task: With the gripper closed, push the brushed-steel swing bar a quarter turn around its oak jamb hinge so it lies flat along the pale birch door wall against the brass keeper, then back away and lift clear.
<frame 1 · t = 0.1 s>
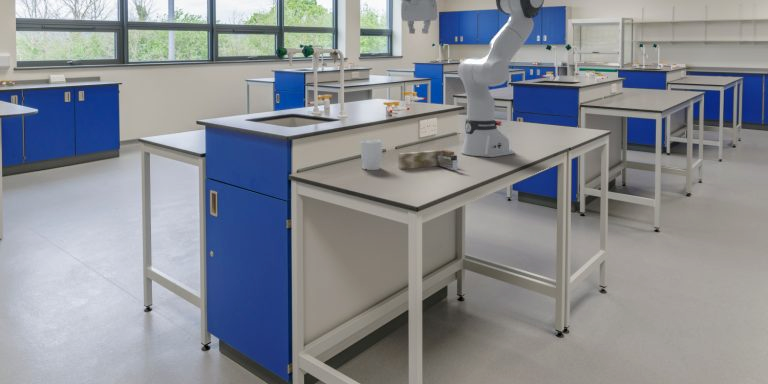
hand: (418, 33, 231), 48 cm above the table, fingers open, 8 cm apart
door frame: (420, 166, 229), on the table
white cup: (371, 168, 225), on the table
swing bar: (446, 160, 226), point 3 cm above the table, hinge at 90.0°
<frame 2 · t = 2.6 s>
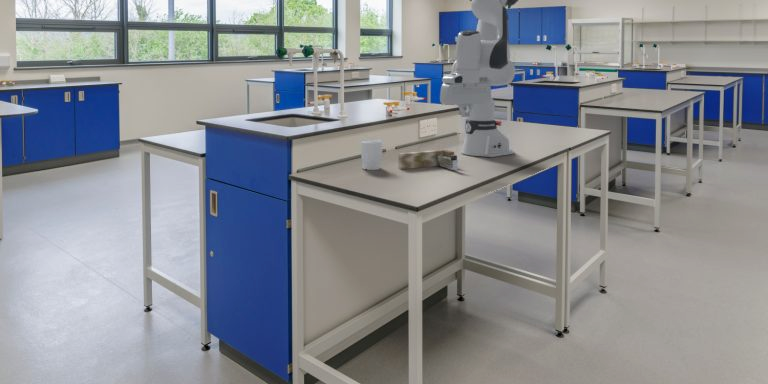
hand: (465, 116, 222), 19 cm above the table, fingers closed
nothing on the table moved.
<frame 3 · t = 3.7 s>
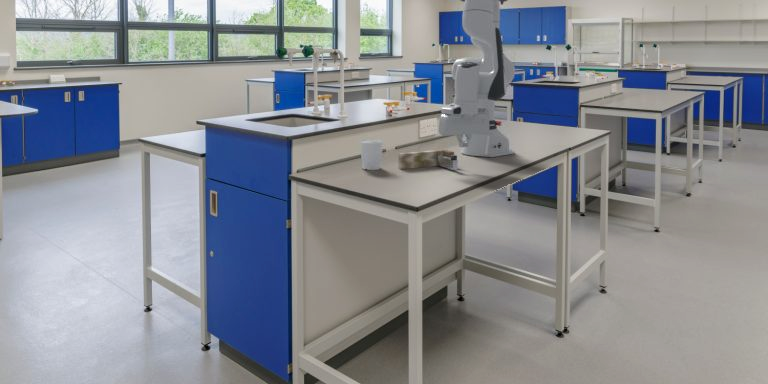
hand: (463, 147, 224), 8 cm above the table, fingers closed
nothing on the table moved.
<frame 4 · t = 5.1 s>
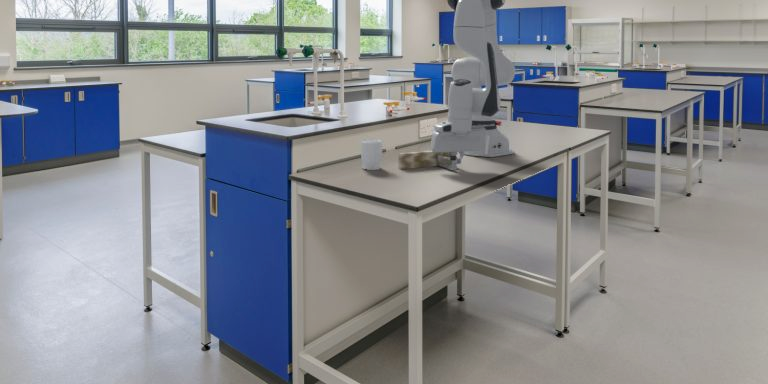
hand: (457, 163, 224), 2 cm above the table, fingers closed
swing bar: (446, 160, 226), point 3 cm above the table, hinge at 87.8°, touching gripper
everything else where it was.
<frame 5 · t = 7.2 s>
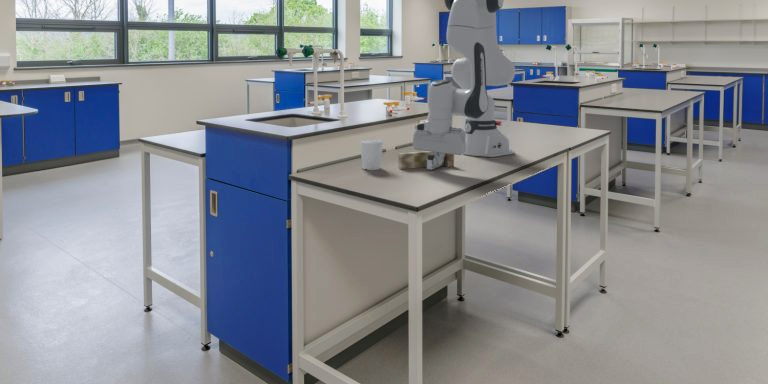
hand: (438, 164, 223), 2 cm above the table, fingers closed
swing bar: (436, 160, 226), point 3 cm above the table, hinge at 30.8°, touching gripper
everything else where it was.
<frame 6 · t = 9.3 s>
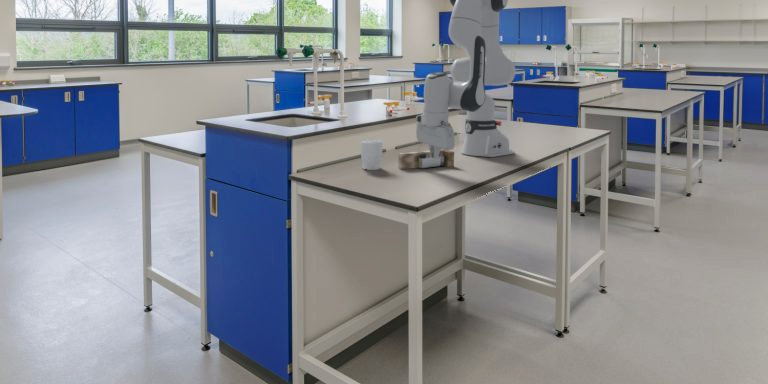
hand: (434, 158, 221), 5 cm above the table, fingers closed
swing bar: (432, 159, 227), point 3 cm above the table, hinge at 5.2°
everything else where it was.
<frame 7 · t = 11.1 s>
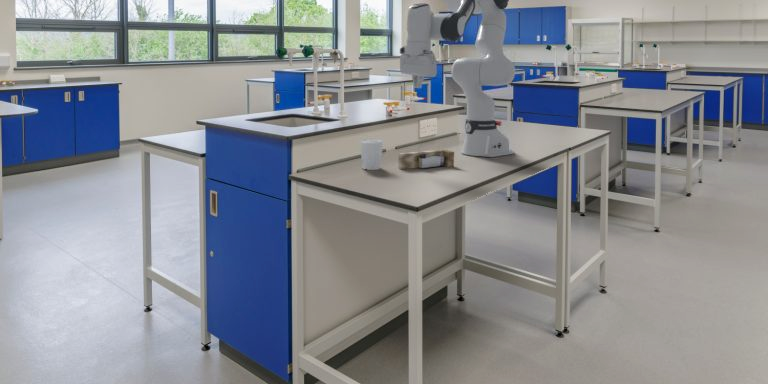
hand: (417, 87, 229), 28 cm above the table, fingers closed
nothing on the table moved.
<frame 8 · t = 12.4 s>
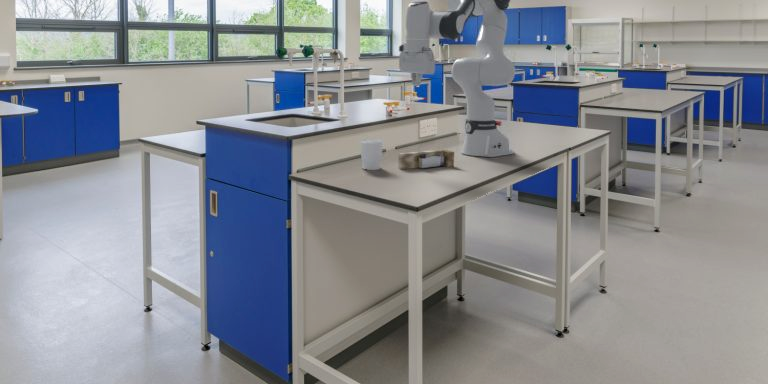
hand: (416, 85, 230), 29 cm above the table, fingers closed
nothing on the table moved.
at the end: swing bar at +5° (first picture: +90°) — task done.
